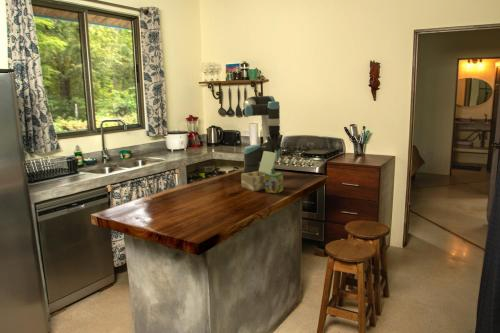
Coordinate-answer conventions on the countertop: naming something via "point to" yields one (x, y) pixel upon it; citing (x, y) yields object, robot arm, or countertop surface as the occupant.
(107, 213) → the countertop surface
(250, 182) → the crate
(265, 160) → the lid
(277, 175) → the chalk box
